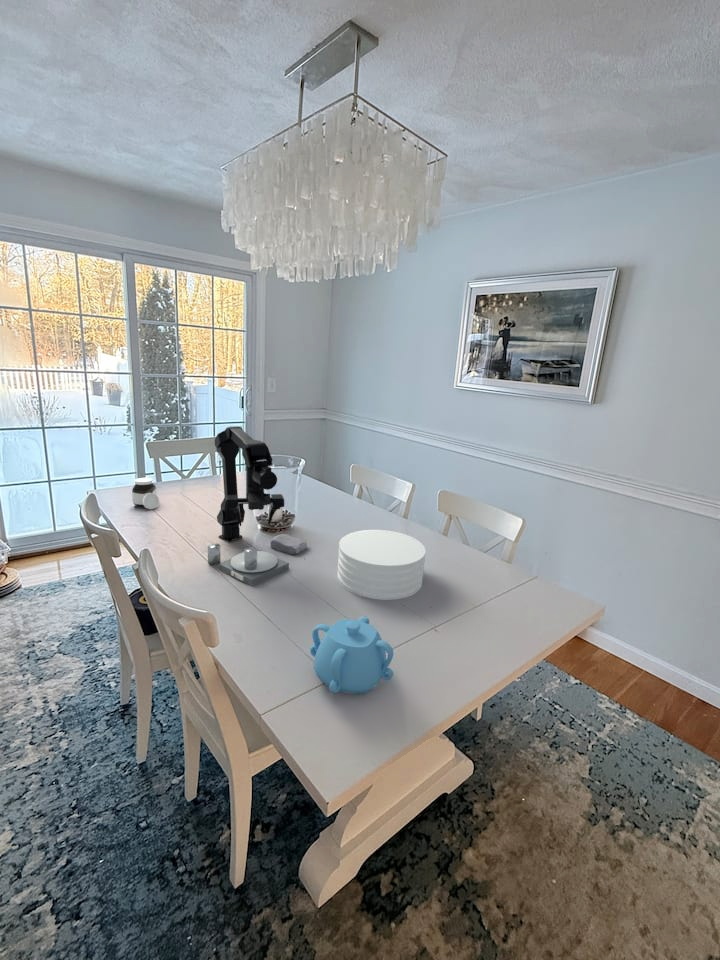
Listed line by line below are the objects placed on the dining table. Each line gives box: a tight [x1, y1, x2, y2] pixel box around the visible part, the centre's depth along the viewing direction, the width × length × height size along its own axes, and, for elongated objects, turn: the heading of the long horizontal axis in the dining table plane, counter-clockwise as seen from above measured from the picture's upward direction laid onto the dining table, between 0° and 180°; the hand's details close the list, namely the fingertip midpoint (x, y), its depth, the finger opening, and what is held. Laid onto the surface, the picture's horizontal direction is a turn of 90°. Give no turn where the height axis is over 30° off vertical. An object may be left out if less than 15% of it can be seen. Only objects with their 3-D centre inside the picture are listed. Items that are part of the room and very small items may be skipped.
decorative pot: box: [309, 616, 394, 695], centre depth 100 cm, size 16×16×14 cm
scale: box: [218, 548, 290, 586], centre depth 148 cm, size 16×17×3 cm
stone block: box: [269, 533, 308, 556], centre depth 166 cm, size 12×5×10 cm
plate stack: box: [337, 529, 427, 601], centre depth 147 cm, size 28×28×12 cm
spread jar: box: [131, 477, 160, 510], centre depth 197 cm, size 12×11×12 cm
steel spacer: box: [207, 543, 222, 566], centre depth 150 cm, size 4×4×6 cm
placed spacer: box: [243, 547, 258, 570], centre depth 142 cm, size 4×4×6 cm
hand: (254, 525), depth 151 cm, fingers open, 9 cm apart
